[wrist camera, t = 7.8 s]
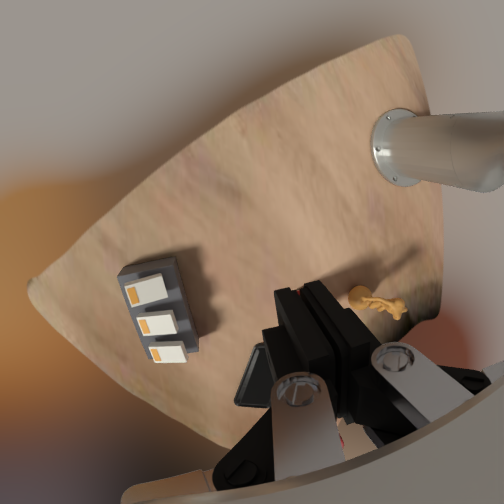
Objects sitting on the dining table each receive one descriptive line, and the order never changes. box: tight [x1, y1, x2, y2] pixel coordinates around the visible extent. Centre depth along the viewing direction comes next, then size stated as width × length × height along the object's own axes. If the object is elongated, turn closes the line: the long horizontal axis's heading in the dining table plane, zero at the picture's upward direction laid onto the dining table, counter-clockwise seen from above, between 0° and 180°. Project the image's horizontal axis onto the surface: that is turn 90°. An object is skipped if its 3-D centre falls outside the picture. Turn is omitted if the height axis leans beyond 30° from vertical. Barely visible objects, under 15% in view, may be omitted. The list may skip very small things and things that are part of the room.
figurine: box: [348, 286, 407, 320], centre depth 41 cm, size 8×6×12 cm
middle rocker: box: [136, 310, 179, 336], centre depth 37 cm, size 5×3×2 cm, turn 99°
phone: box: [234, 343, 274, 408], centre depth 49 cm, size 8×1×15 cm
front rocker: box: [124, 273, 168, 307], centre depth 36 cm, size 5×3×2 cm, turn 98°
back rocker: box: [148, 341, 188, 363], centre depth 39 cm, size 5×3×2 cm, turn 99°
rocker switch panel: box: [117, 256, 199, 359], centre depth 40 cm, size 8×14×4 cm, turn 9°
